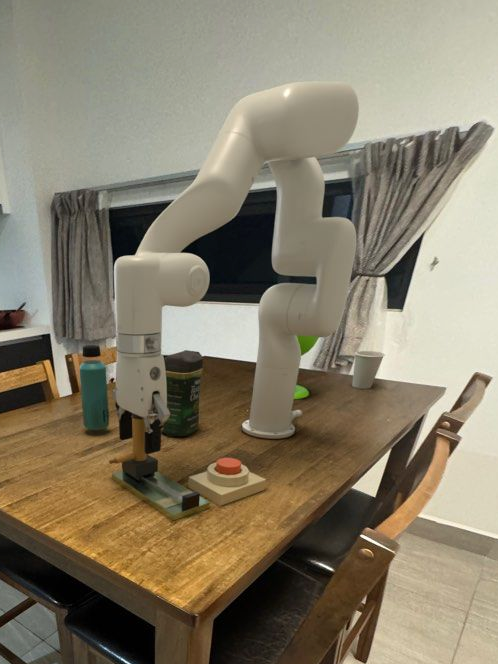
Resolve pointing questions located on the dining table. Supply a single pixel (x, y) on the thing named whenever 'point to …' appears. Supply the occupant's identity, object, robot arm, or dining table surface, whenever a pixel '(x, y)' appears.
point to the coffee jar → (183, 392)
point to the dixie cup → (366, 368)
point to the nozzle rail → (163, 494)
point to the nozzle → (138, 453)
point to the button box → (226, 485)
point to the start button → (228, 466)
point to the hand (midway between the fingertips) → (139, 444)
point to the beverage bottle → (94, 390)
